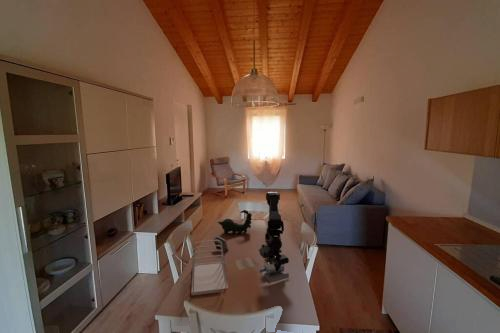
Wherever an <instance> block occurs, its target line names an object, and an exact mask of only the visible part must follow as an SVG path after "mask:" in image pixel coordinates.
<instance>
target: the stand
mask: <svg viewBox="0 0 500 333" xmlns="http://www.w3.org/2000/svg"><path fill="white" fill-rule="evenodd" d="M232 263H233V264H234V265H235V266H236V268H237V270H239V271H243V270H246V269H250V268H253V267H257V266H259V264H258V262H257V261H256V260H255V259H254V258H253V257H252V256H250V257H245V258H239V259H237V260H233V261H232Z"/></svg>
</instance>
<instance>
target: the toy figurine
mask: <svg viewBox="0 0 500 333" xmlns="http://www.w3.org/2000/svg"><path fill="white" fill-rule="evenodd" d="M242 213H243V214H245V215H246V218H245V221H244V223H242V224H241V223H237V222H235V221H234V220H232V219H231V218H226V219H224V220H223V221H218V222H217V223H218V224H219V225H220V226H221V228H222V230H223V233H224V234H226V235H227V234H228V233H229V232H232V234H233V235H235V234H237V233H238V234H239V235H242V232H244V233H247V232H248V228H249V229H251V228H252V226H251V224H252V219H253V218H252V217H253V214H252V213H251V212H249V211H248V210H247V209H246V210H245V209H243V210H241V211H240V214H242Z"/></svg>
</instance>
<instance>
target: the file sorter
mask: <svg viewBox="0 0 500 333" xmlns="http://www.w3.org/2000/svg"><path fill="white" fill-rule="evenodd" d="M214 241H219V242H220V243H221V246H220V245H215V244H213V245H203V246H196V244H200V243H211V242H212V243H213V242H214ZM216 246H220V247H221V250H217V249H212V250H203V251H202V250H201V251H196V252H195V250H196V249H204V248H211V247H216ZM192 247H193V249H192V258H191V260H192V261H191V267H192V273H191V274H192V275H191V292H190V293H191V296H198V295H199V296H200V295H209V294H216V293H223V290H227V289H229V286H228V285H229V284H228V281H227V280H228V279H227V264H226V260H225V257H224V252H223V248H222V242H221V241H220V240H214V239H211V240H200V241H196V242H194V243H193V246H192ZM211 252H213V253H214V252H220V253H221V254H217V255H210V256H202V257H195V255H196V254H203V253H211ZM218 257H221V259H220V260H221V261H215V262H213V261H212V262H204V263H196V260H202V259H203V260H204V259H210V258H211V259H212V258H218Z"/></svg>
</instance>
